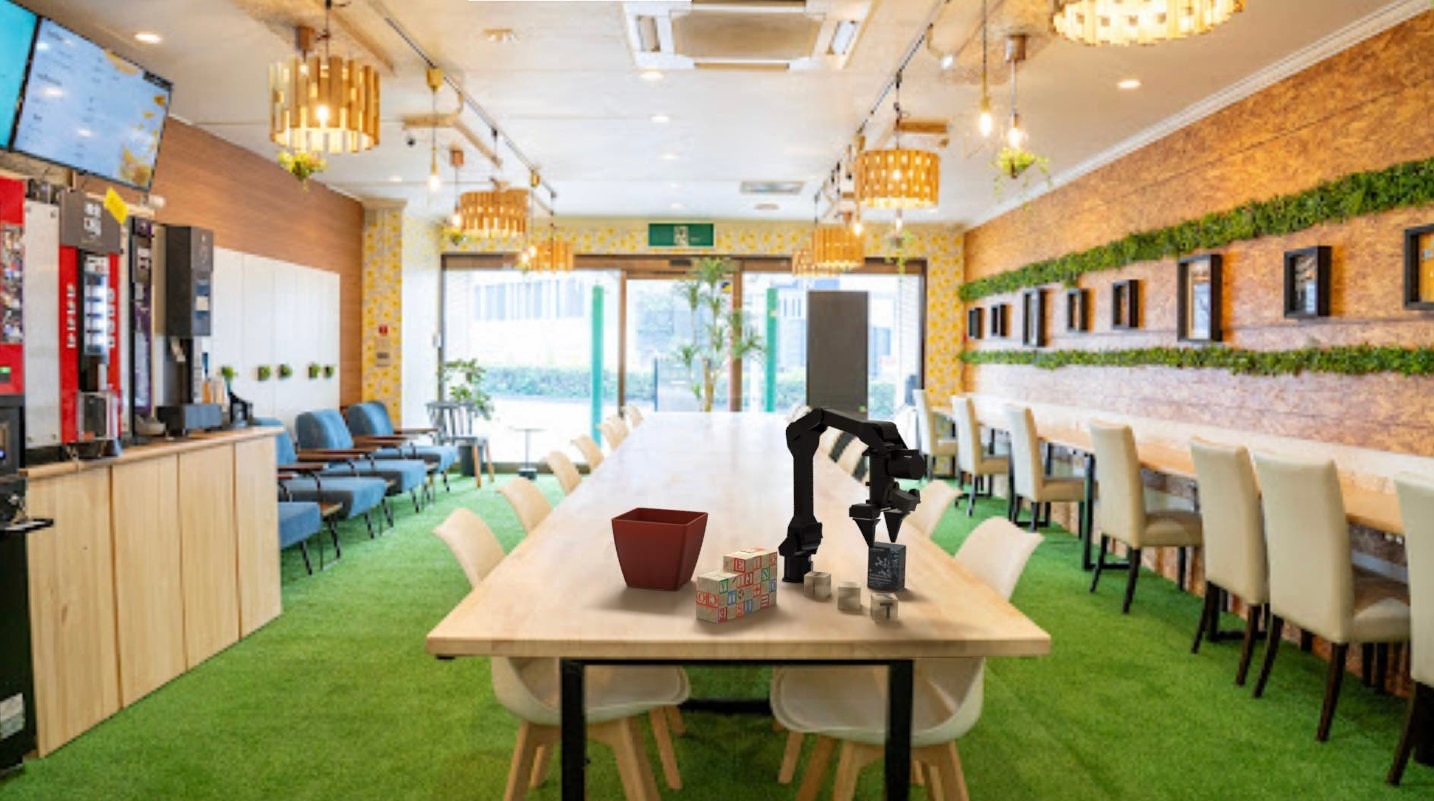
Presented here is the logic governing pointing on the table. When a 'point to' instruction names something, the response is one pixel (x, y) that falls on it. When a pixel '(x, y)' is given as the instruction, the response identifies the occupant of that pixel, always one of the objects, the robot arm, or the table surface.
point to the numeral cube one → (817, 584)
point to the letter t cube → (884, 607)
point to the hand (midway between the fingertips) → (882, 545)
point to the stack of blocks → (738, 585)
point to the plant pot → (658, 546)
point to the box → (886, 566)
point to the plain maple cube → (849, 595)
